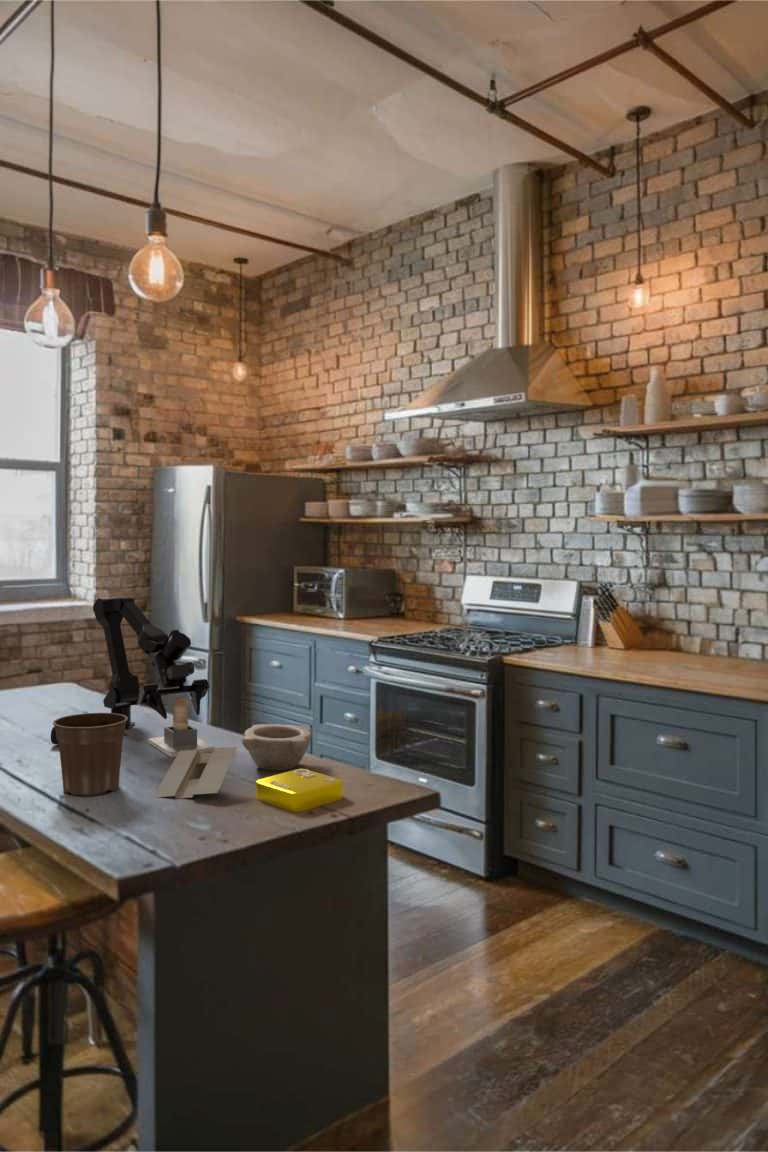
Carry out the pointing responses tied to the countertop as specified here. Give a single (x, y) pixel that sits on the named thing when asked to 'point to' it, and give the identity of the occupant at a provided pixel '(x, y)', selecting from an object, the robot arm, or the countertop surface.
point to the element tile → (299, 790)
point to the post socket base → (180, 742)
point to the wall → (196, 773)
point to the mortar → (277, 745)
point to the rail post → (180, 714)
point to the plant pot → (90, 751)
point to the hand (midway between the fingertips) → (182, 716)
